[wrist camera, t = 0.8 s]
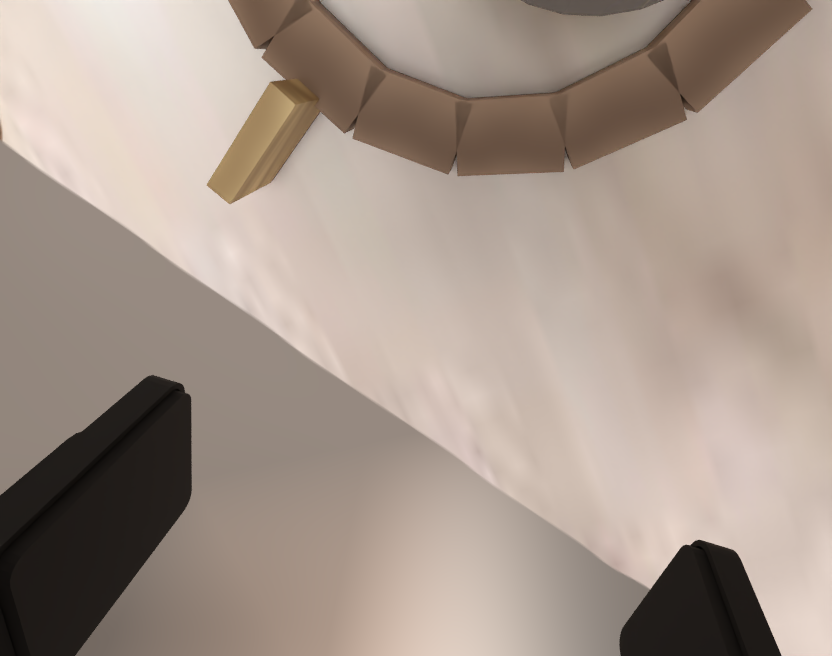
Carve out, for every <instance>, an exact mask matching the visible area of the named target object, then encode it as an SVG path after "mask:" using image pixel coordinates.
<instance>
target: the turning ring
mask: <svg viewBox="0 0 832 656" xmlns="http://www.w3.org/2000/svg"><path fill="white" fill-rule="evenodd" d="M228 1H229V2H230V4H231V6H232V8H233V10H234V12H235V13H236V15H237V17H238V19H239V21H240V23H241V24H242V26H243V28H244V30H245V32H246V34H247V35H248V37H249V39H250V41H251V43H252V45H253V46H254V48H255V49H266V51H265V53H264V54H263V56H262V58H263V59H264V60H265V61H266V62H267V63H268V64H269V65H270V66H271V67H273V68H274V69H275V70H276V71H277V72H278V73H279V74H280V75H281V76H282V77H283V78H285V79H286V80H282V81H274V82H270V83H269V85H268V87H267V88H266V90H265V92H264V93H263V95H262V96H261V98H260V100H259V101H258V103H257V104H256V106H255V108H254V109H253V111H252V112H251V114H250V116H249V117H248V119H247V121H246V122H245V124H244V125H243V127H242V129H241V130H240V132H239V133H238V135H237V137H236V138H235V140H234V142H233V143H232V145H231V146H230V148H229V150H228V151H227V153H226V154H225V156H224V158H223V159H222V161H221V162H220V164H219V166H218V167H217V169H216V171H215V172H214V174H213V175H212V177H211V179H210V180H209V182H208V183H207V186H208V187H209V188H211V189H212V190H213V191H214V192H215V193H217V194H218V195H219V196H220V197H221V198H223V199H224V200H225V201H226V202H227V203H229V204H231V203H233V202H235V201H237V200H239V199H241V198H243V197H244V196H246V195H248V194H250V193H252V192H254V191H256V190H258V189H259V188H261V187H263V186H265V185H267V184H269V183H271V181H272V180H273V178H274V177H275V176H276V174H277V173H278V171H279V170H280V168H281V167H282V165H283V164H284V163H285V161H286V160H287V158H288V157H289V155H290V154H291V153H292V151H293V150H294V148H295V147H296V145H297V144H298V142H299V141H300V140H301V138H302V137H303V135H304V134H305V132H306V131H307V129H308V128H309V127H310V125H311V124H312V122H313V121H314V119H315V118H316V116H317V115H318V114H319V112H320V111H321V112H322V113H323V114H324V115H325V116H326V117H327V118H328V119H329V120H330V121H331V122H333V123H334V124H335V125H336V126H337V127H338V128H339V129H340V130H341V131H342V132H343V133H346V132H348V131H350V130H352V129H354V127H355V130H354V134H353V139H355V140H358V141H361V142H363V143H366V144H369V145H371V146H374V147H377V148H379V149H382V150H385V151H387V152H390V153H393V154H395V155H398V156H400V157H403V158H406V159H408V160H411V161H414V162H416V163H419V164H422V165H424V166H427V167H430V168H432V169H435V170H438V171H440V172H443V173H446V174H449V172H450V170H451V169H452V166H453V163H454V161H455V158H456V155H457V174H458V176H471V175H496V174H520V173H545V172H564V155H565V149H566V152H567V155H568V158H569V160H570V163H571V165H572V167H573V169H576V168H578V167H580V166H583V165H585V164H587V163H589V162H592V161H594V160H596V159H599V158H601V157H603V156H605V155H608V154H610V153H612V152H614V151H617V150H619V149H621V148H624V147H626V146H628V145H630V144H633V143H635V142H637V141H640V140H642V139H644V138H646V137H649V136H651V135H653V134H656V133H658V132H660V131H662V130H665V129H667V128H669V127H671V126H674V125H676V124H678V123H681V122H683V121H685V120H687V118H686V115H685V111H684V107H685V108H686V109H687V110H690V111H693V112H696V113H698V112H699V111H700V110H701V109H702V108H703V107H704V106H706V105H707V104H708V103H709V102H710V101H711V100H712V99H713V98H714V97H716V96H717V95H718V94H719V93H720V92H721V91H722V90H723V89H724V88H725V87H727V86H728V85H729V84H730V83H731V82H732V81H733V80H734V79H735V78H737V77H738V76H739V75H740V74H741V73H742V72H743V71H744V70H745V69H746V68H748V67H749V66H750V65H751V64H752V63H753V62H754V61H755V60H756V59H758V58H759V57H760V56H761V55H762V54H763V53H764V52H765V51H766V50H767V49H769V48H770V47H771V46H772V45H773V44H774V43H775V42H776V41H777V40H779V39H780V38H781V37H782V36H783V35H784V34H785V33H786V32H787V31H788V30H790V29H791V28H792V27H793V26H794V25H795V24H796V23H797V22H798V21H800V20H801V19H802V18H803V17H804V16H805V15H806V14H807V13H808V12H810V11H811V10H812V8H811V7H810V5H809V4H808V3H807V2H806V0H692V1H691V2H690V3H689V4H688V5H687V6H686V7H685V8H684V9H683V10H682V11H681V12H680V13H679V15H678V16H677V17H676V18H675V19H674V20H673V21H672V22H671V23H670V24H669V25H668V26H667V27H666V28H665V29H664V30H663V31H662V32H661V33H660V34H659V35H658V36H657V37H656V38H655V39H654V40H653V41H652V42H651V43H650V44H649V45H648V46H647V47H646V48H644V49H642V50H640V51H638V52H636V53H634V54H632V55H630V56H628V57H626V58H624V59H622V60H620V61H618V62H616V63H614V64H612V65H610V66H608V67H606V68H604V69H602V70H600V71H598V72H596V73H594V74H592V75H590V76H588V77H586V78H584V79H582V80H580V81H578V82H576V83H573V84H571V85H569V86H567V87H565V88H563V89H561V90H559V91H557V92H555V93H540V94H525V95H511V96H496V97H481V98H465V97H462V96H459V95H457V94H454V93H452V92H449V91H446V90H444V89H441V88H438V87H436V86H433V85H430V84H428V83H425V82H423V81H420V80H417V79H415V78H412V77H409V76H407V75H404V74H401V73H399V72H396V71H394V70H391V69H388V68H387V67H386V66H385V65H384V64H382V63H381V62H380V61H379V60H378V59H377V58H376V57H375V56H374V55H373V54H372V53H371V52H370V51H369V50H368V49H367V48H366V47H365V46H364V45H363V44H362V43H361V42H360V41H359V40H358V39H357V38H356V37H355V36H354V35H353V34H352V33H350V32H349V31H348V30H347V29H346V28H345V27H344V26H343V25H342V24H341V23H340V22H339V21H338V20H337V19H336V18H335V17H334V16H333V15H332V14H331V13H330V12H329V11H328V10H327V9H326V8H325V7H324V6H323V5H322V4H321V3H320V2H319V0H228ZM683 106H684V107H683Z"/></svg>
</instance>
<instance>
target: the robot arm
mask: <svg viewBox="0 0 832 656" xmlns="http://www.w3.org/2000/svg"><path fill="white" fill-rule="evenodd" d="M191 476H192V475H191V397H190V395H189V394H186V393H185V390H184V387H183V385H182V384H180V383H177V382H174V381H170V380H167V379H164V378H160V377H157V376H154V375H151V376H148V377H146V378H145V379H143V380H142V381H141V382H140V383H139V384H138V385H136V386H135V387H134V388H133V389H132V390H131V391H130V392H128V393H127V394H126V395H125V396H123V397H122V398H121V399H120V400H119V401H118V402H116V403H115V404H114V405H113V406H112V407H110V408H109V409H108V410H107V411H106V412H105V413H103V414H102V415H101V416H100V417H99V418H97V419H96V420H95V421H94V422H93V423H92V424H90V425H89V426H88V427H87V428H86V429H85V430H83V431H82V432H79V433H76V434H75V435H73V436H72V437H70V438H69V439H67V440H66V441H65V442H64V443H62V444H61V445H60V446H59V447H58V448H56V449H55V450H54V451H53V452H52V453H50V455H48V456H47V457H46V458H45V459H43V460H42V461H41V462H40V463H39V464H37V465H36V466H35V467H34V468H33V469H31V470H30V471H29V472H28V473H27V474H25V475H24V476H23V477H22V478H21V479H19V480H18V481H17V482H16V483H15V484H14V485H12V486H11V487H10V488H9V489H8V490H6V491H5V492H4V493H3V494H1V495H0V656H75V655H76V654H77V652H78V651H79V650H80V648H81V647H82V646H83V644H84V643H85V642H86V640H87V639H88V638H89V636H90V635H91V634H92V632H93V631H94V630H95V628H96V627H97V626H98V624H99V623H100V622H101V620H102V619H103V618H104V616H105V615H106V614H107V612H108V611H109V610H110V608H111V607H112V606H113V604H114V603H115V602H116V600H117V599H118V598H119V597H120V595H121V594H122V592H123V591H124V590H125V589H126V587H127V586H128V585H129V583H130V582H131V581H132V579H133V578H134V577H135V575H136V574H137V572H138V571H139V570H140V568H141V567H142V566H143V565H144V563H145V562H146V560H147V559H148V558H149V557H150V555H151V554H152V552H153V551H154V550H155V549H156V547H157V546H158V545H159V543H160V542H161V541H162V539H163V538H164V537H165V535H166V534H167V533H168V531H169V530H170V529H171V527H172V526H173V524H174V523H175V522H176V521H177V519H178V518H179V517H180V515H181V514H182V513H183V511H184V510H185V508H186V506H187V504H188V502H189V500H190V496H191V491H192V485H191V484H192V480H191V479H192V477H191ZM620 654H621V656H781V653H780V651H779V649H778V646H777V644H776V642H775V639H774V637H773V635H772V632H771V630H770V628H769V625H768V623H767V620H766V618H765V616H764V613H763V611H762V609H761V606H760V604H759V602H758V599H757V597H756V595H755V592H754V590H753V588H752V585H751V583H750V580H749V578H748V576H747V573H746V571H745V569H744V566H743V564H742V562H741V559H740V557H739V556H738V554H737V553H736V552H735V551H734V550H732V549H728V548H725V547H722V546H718V545H715V544H712V543H708V542H705V541H702V540H697V541H694V542H693V543H692V544H691V545H690V546H689V545H684V546H682V547H681V548H680V550H679V551H678V553H677V554H676V555H675V557H674V558H673V559H672V561H671V562H670V563H669V565H668V566H667V568H666V569H665V570H664V572H663V573H662V574H661V576H660V577H659V579H658V580H657V581H656V583H655V584H654V585H653V587H652V588H651V590H650V591H649V592H648V594H647V595H646V596H645V598H644V599H643V601H642V602H641V603H640V605H639V606H638V607H637V609H636V610H635V611H634V613H633V614H632V616H631V617H630V618H629V620H628V621H627V622H626V624H625V625H624V627H623V629H622V631H621V635H620Z"/></svg>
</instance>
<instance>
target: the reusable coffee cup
mask: <svg viewBox="0 0 832 656" xmlns="http://www.w3.org/2000/svg"><path fill="white" fill-rule="evenodd" d="M521 1H523V2H525V3H527V4H529V5H532V6H536V7H539V8H543V9H546V10H550V11H553V12H557V13H560V14H568V15H589V16H604V15H610V14H616V13H622V12H628V11H633V10H639V9H642V8H645V7H648V6H650V5H653V4H655V3H658V2H661V1H663V0H521Z"/></svg>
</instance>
